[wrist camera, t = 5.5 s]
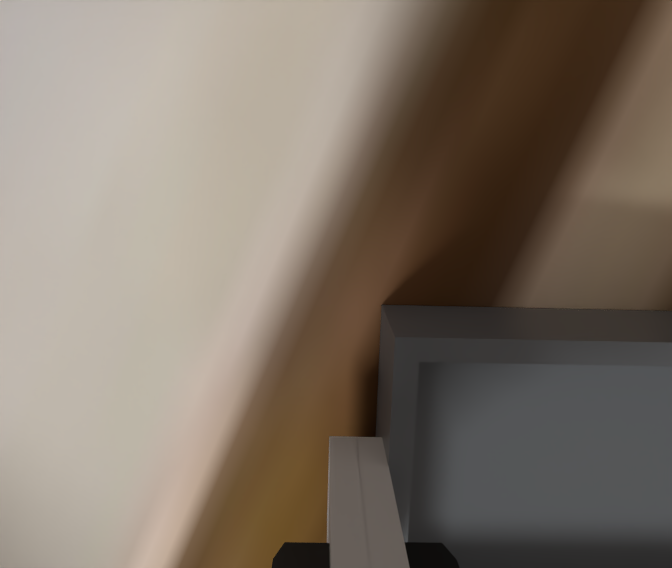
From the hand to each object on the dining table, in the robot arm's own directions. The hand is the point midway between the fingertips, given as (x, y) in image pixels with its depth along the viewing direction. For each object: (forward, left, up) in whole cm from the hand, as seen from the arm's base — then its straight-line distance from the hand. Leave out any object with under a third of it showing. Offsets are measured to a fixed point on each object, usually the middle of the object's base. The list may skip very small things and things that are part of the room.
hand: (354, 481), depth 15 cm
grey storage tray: (+8, 0, -2) cm, 8 cm away
